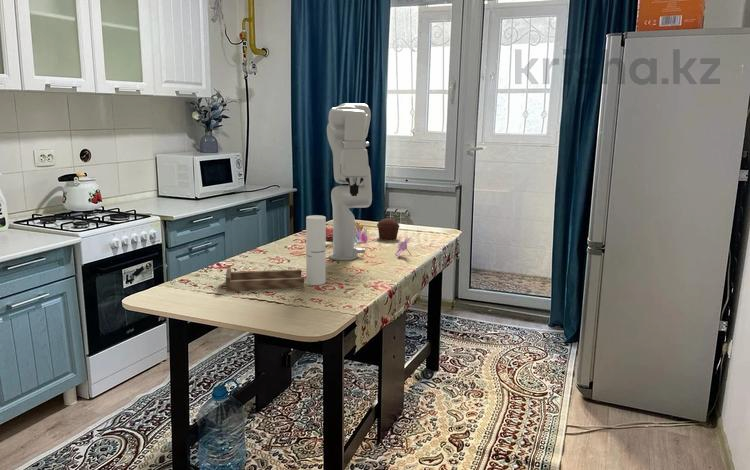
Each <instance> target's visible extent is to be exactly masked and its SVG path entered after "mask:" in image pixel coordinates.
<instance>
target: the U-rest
mask: <svg viewBox="0 0 750 470" xmlns="http://www.w3.org/2000/svg"><path fill="white" fill-rule="evenodd" d="M225 288H226V289H225V291H226V292H235V291H236V292H238V291H239V292H240V291H261V290H263V291H264V290H285V289H304V288H305V277H303V276H302V269H301V268H300V269H299V268H298V269H274V270H273V269H272V270H268V269H267V270H250V271H249V270H245V271H241V270H240V271H232V267H227V268H226V275H225Z"/></svg>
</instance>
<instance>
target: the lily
mask: <svg viewBox="0 0 750 470" xmlns="http://www.w3.org/2000/svg"><path fill="white" fill-rule="evenodd" d="M411 239H412V237H408V236H406V238H405V239H404V241H399V242H398V243H397V248H398V249H397V251H396V252H395V253H394V255H396V258H397V259H398V258H399V257H400V256H401V254H402V252H406V251H407V252H408V253H409V255H410V256H412V253H411V252H410V251H409V250H408V243H410V241H411Z"/></svg>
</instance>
